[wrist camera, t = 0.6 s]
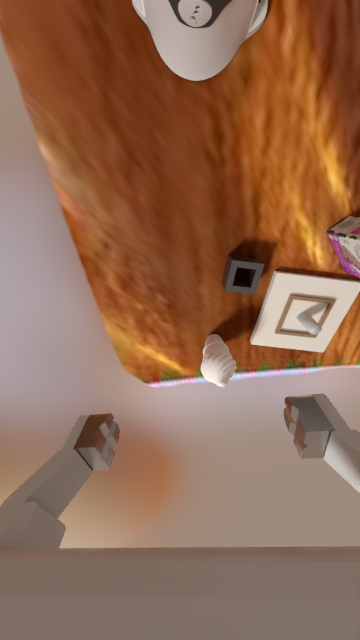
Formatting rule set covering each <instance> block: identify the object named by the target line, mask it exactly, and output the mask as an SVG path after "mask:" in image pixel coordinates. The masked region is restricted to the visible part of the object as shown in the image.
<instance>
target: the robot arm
mask: <svg viewBox="0 0 360 640" xmlns="http://www.w3.org/2000/svg"><path fill="white" fill-rule="evenodd" d="M258 2H259V0H132V4H133V7H134V9H135V10H136V12H137V13H138V15H139V16H140V17H141V19H142V20H143V21H144V22H145V23H146V24H147V26H148V28H149V30H150V32H151V35H152V37H153V40H154V43H155V45H156V48H157V50H158V52H159V54H160V56H161V57H162V59H163V60H164V62H165V63H166V64H167V66H168V67H169V68H170V69H171V70H172V71H173V72H175V73H176V74H177V75H179V76H181V77H183V78H185V79H188V80H194V81H199V80H205V79H208V78H210V77H212V76H214V75H216V74H217V73H219V72H220V71H221V70H223V69H224V68H225V67H226V66H227V64H228V63H229V62H230V61H231V60H232V58H233V57H234V55H235V54H236V52H237V51H238V49H239V47H240V46H241V44H242V43H243V42H244V41H245V40H246V39H247V38H248V37H250V36H251V35H252V34H254V33H255V32H256V31H257V30H258V29H259V28H260V27H261V26H262V25H263V23H264V20H265V17H266V13H267V6H268V0H261V2H260V3H258ZM285 404H286V406H287V407H286V408H285V409H284V418H285V422H286V425H287V428H288V430H289V432H291V433H292V434H293V435H294V444H295V446H296V448H297V451H298V453H299V455H300V457H301V458H324V460H325V461H326V462H327V463H328V464H329V465H330V466H331V467H333V469H335V470H336V471H337V472H338V473H339V474H340V475H341V476H342V477H343V478H344V479H345V480H346V481H347V482H348V483H350V484H351V485H352V486H353V487H354V488H355V489H356V490H357V491H358V492H359V493H360V433H359V432H358V431H356V430H351V429H350V428H349V427H348V425H347V424H346V423H345V421H344V420H343V418H342V417H341V416H340V414H339V413H338V411H337V410H336V409H335V407H334V406H333V405H332V403H331V402H330V401H329V399H328V398H327V396H326V395H324V394H313V395H300V396H291V397H286V398H285ZM113 419H114V417H113V415H112V414H111V413H109V414H95V415H82V416H80V417H79V418H78V419H77V421H76V423H75V425H74V427H73V429H72V431H71V433H70V435H69V437H68V439H67V441H66V443H65V444H64V446H63V448H62V450H59V451H57V452H56V453H55V454H54V455H53V456H52V457H51V458H50V459H49V460H48V461H47V462H46V463H45V464H44V465H42V466H41V467H40V468H39V469H38V470H37V471H36V472H35V473H34V474H33V475H32V476H31V477H29V478H28V479H27V480H26V481H25V482H24V483H23V484H22V485H21V486H20V487H19V488H18V489H17V490H15V491H14V492H13V493H12V494H11V495H10V496H9V497H8V498H7V499H6V500H5V501H4V502H3V503H2V505H1V507H0V640H360V546H351V547H349V546H344V547H343V546H341V547H204V548H203V547H196V548H195V547H191V548H189V547H188V548H59V546H60V543H61V541H62V538H63V535H64V532H65V530H66V528H65V525H64V524H63V523H62V522H61V521H59V520H58V517H59V516H60V515H61V513H62V512H63V510H64V509H65V508H66V507H67V505H68V504H69V503H70V501H71V500H72V499H73V497H74V496H75V494H76V493H77V492H78V491H79V490H80V488H81V487H82V486H83V484H84V483H85V482H86V480H87V479H88V478H89V476H90V475H91V474H92V471H94V470H106V469H110V467H111V464H112V461H113V457H114V454H115V453H114V450H113V448H114V447H115V446H116V445H117V443H118V440H119V433H120V430H119V426H118V424H117V423H116V422H114V421H113Z"/></svg>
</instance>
